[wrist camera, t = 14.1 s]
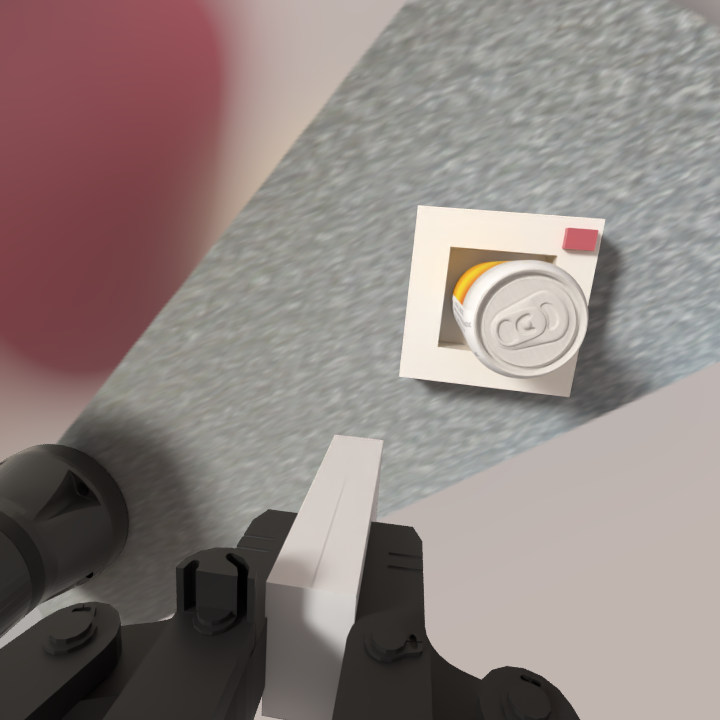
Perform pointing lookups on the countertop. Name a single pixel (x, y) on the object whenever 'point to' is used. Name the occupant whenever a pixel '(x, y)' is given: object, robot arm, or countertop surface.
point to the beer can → (520, 316)
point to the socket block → (466, 249)
